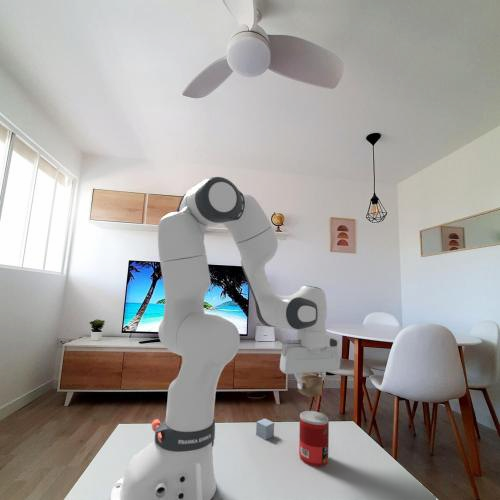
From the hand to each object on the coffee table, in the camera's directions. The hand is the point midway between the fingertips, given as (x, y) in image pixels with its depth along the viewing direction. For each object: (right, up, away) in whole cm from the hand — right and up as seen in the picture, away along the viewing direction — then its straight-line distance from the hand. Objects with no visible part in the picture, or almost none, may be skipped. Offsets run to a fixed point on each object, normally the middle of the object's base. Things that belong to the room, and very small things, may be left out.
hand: (310, 387), depth 84 cm
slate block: (-13, -18, +6) cm, 23 cm away
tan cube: (0, -2, 0) cm, 2 cm away
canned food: (0, -17, -6) cm, 18 cm away
